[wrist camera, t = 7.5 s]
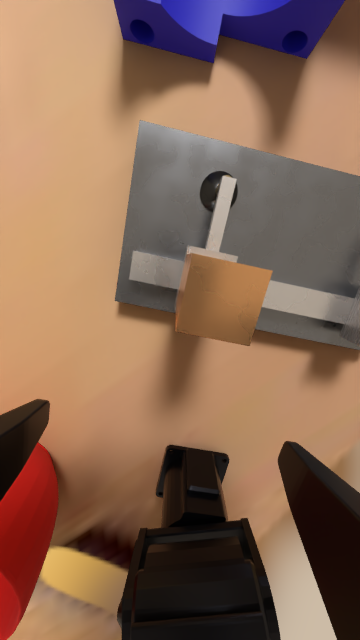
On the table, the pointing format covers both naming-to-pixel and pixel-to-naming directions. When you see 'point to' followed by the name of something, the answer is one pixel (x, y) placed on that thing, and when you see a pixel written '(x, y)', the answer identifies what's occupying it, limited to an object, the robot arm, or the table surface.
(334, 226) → the plate
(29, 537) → the ceramic cup
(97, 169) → the table surface
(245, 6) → the cable clip
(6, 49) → the table surface
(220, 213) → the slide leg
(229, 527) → the robot arm
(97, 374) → the table surface
